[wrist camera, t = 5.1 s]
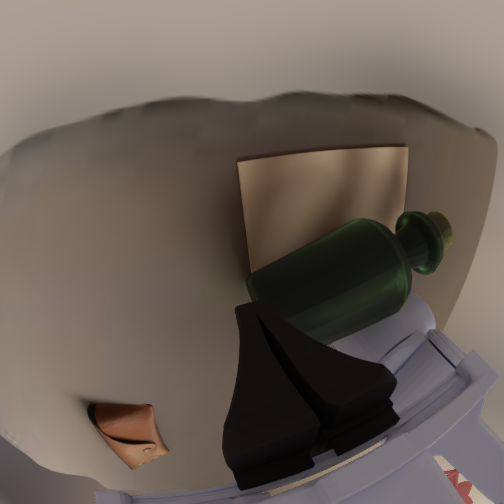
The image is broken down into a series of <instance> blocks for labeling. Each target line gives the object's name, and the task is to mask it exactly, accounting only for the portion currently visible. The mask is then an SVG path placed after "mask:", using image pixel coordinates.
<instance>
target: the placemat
mask: <svg viewBox="0 0 504 504" xmlns="http://www.w3.org/2000/svg"><path fill="white" fill-rule="evenodd" d="M237 167H238V175H239V183H240V191H241V199H242V207H243V214H244V222H245V230H246V238H247V246H248V254H249V261H250V269H251V273H253V272H255V271H257V270H259V269H261V268H263V267H265V266H266V265H268V264H270V263H272V262H274V261H276V260H278V259H280V258H282V257H284V256H286V255H288V254H289V253H291V252H293V251H295V250H297V249H299V248H301V247H303V246H305V245H307V244H308V243H310V242H312V241H314V240H316V239H318V238H320V237H322V236H323V235H325V234H327V233H329V232H331V231H333V230H335V229H337V228H338V227H340V226H342V225H344V224H346V223H348V222H350V221H351V220H353V219H360V218H366V219H371V220H375V221H377V222H379V223H381V224H383V225H385V226H387V227H388V228H389V229H390V230H391V231H392V233H393V234H395V225H396V222H397V219H398V217H399V216H400V215H401V214H402V213H403V212H404V203H405V193H406V182H407V167H408V147H370V148H352V149H338V150H326V151H315V152H305V153H296V154H288V155H280V156H273V157H266V158H259V159H252V160H246V161H240V162H237Z"/></svg>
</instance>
